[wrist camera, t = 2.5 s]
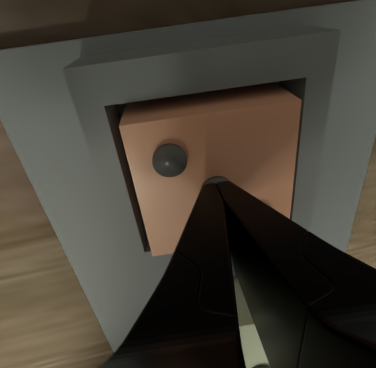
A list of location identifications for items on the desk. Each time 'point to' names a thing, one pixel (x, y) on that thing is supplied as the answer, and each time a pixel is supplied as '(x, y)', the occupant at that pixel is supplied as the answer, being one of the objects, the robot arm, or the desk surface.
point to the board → (174, 86)
